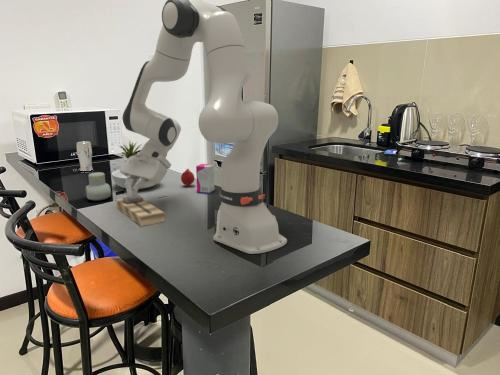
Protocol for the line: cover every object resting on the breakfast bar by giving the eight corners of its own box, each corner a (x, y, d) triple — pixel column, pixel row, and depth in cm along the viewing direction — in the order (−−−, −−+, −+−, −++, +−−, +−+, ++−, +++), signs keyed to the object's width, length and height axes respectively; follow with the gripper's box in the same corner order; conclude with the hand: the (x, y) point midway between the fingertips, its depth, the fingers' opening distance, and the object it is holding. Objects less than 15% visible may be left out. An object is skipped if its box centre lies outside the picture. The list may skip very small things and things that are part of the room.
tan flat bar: (165, 221, 125) (164, 212, 124) (141, 226, 120) (141, 217, 119) (137, 203, 143) (137, 195, 142) (116, 207, 139) (115, 199, 138)
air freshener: (112, 200, 146) (110, 175, 144) (89, 204, 142) (86, 178, 140) (107, 193, 155) (105, 170, 153) (85, 196, 152) (83, 172, 149)
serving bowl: (106, 193, 156) (104, 177, 154) (121, 181, 176) (120, 166, 174) (157, 193, 156) (156, 177, 155) (166, 181, 177) (165, 166, 175)
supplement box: (215, 190, 161) (214, 164, 158) (209, 194, 156) (208, 166, 153) (202, 189, 163) (201, 163, 160) (196, 192, 157) (195, 165, 154)
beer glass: (80, 170, 197) (76, 141, 193) (94, 169, 199) (91, 140, 195) (78, 173, 191) (75, 143, 187) (93, 172, 193) (90, 142, 189)
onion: (192, 188, 164) (191, 170, 162) (179, 187, 165) (178, 169, 163) (196, 185, 170) (195, 167, 167) (184, 184, 171) (183, 166, 169)
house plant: (130, 177, 182) (128, 144, 177) (110, 174, 188) (107, 141, 184) (152, 172, 194) (150, 140, 189) (132, 169, 200) (130, 138, 196)
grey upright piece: (143, 200, 135) (141, 178, 133) (126, 203, 132) (124, 181, 130) (138, 197, 138) (137, 176, 136) (122, 200, 135) (120, 178, 133)
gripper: (128, 148, 142) (107, 179, 137) (164, 155, 130) (142, 188, 125) (139, 158, 147) (119, 188, 142) (174, 165, 135) (154, 198, 130)
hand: (130, 188), depth 133 cm, fingers closed on grey upright piece, 3 cm apart
